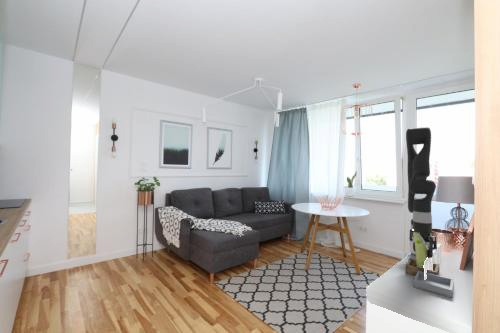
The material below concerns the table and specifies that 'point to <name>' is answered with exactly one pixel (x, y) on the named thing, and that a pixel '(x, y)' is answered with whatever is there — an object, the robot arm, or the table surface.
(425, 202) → the robot arm
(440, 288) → the tray
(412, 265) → the wooden picture frame
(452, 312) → the table surface
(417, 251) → the tube
